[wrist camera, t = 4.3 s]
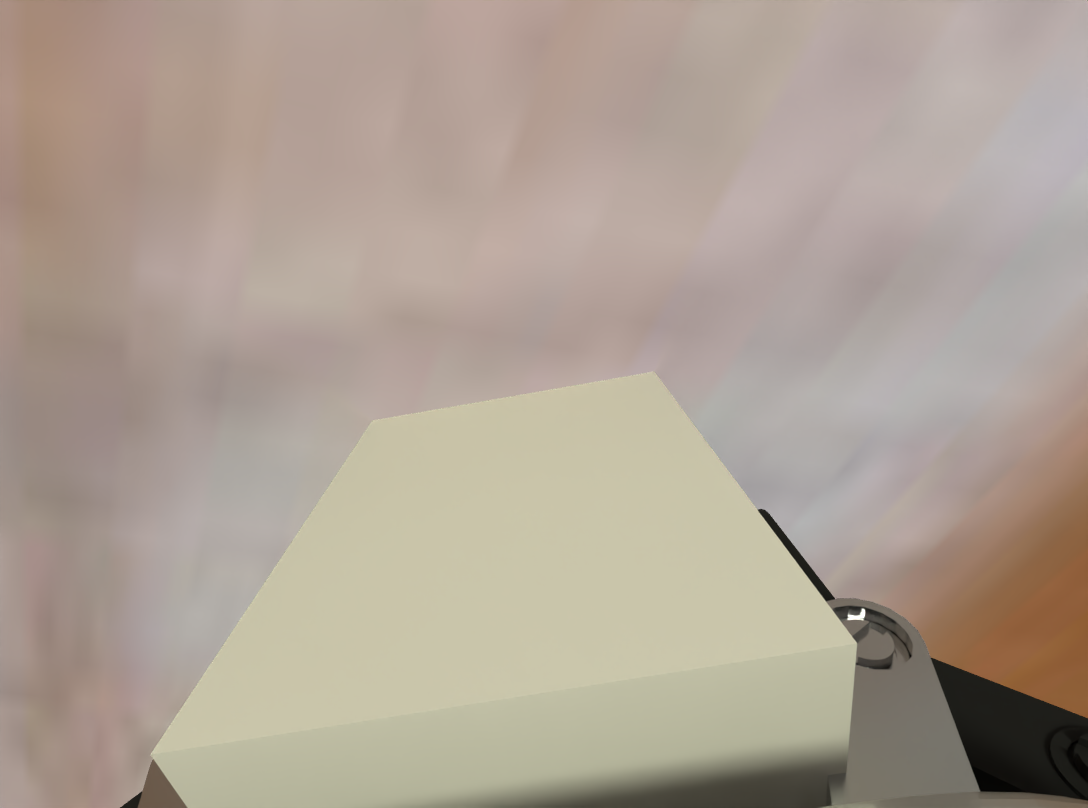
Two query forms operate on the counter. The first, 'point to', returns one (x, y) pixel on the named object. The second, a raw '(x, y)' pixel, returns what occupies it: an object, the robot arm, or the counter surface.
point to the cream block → (526, 628)
